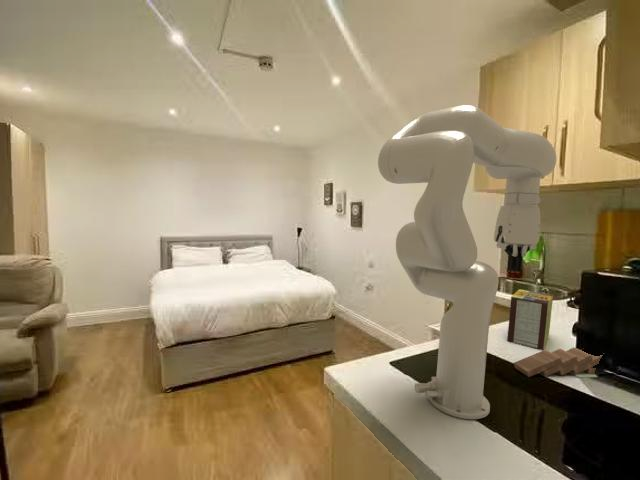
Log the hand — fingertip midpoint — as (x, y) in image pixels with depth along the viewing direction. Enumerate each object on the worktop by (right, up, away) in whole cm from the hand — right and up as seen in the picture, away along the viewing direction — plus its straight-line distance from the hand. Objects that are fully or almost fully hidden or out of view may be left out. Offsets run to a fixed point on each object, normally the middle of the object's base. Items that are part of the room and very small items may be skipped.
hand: (514, 270), depth 87 cm
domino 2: (+7, -27, +1) cm, 28 cm away
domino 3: (+12, -27, +2) cm, 29 cm away
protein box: (+20, -26, +26) cm, 42 cm away
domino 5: (+20, -27, +3) cm, 33 cm away
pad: (+19, -28, +3) cm, 34 cm away
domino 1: (+2, -27, +1) cm, 27 cm away
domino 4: (+16, -27, +3) cm, 31 cm away
